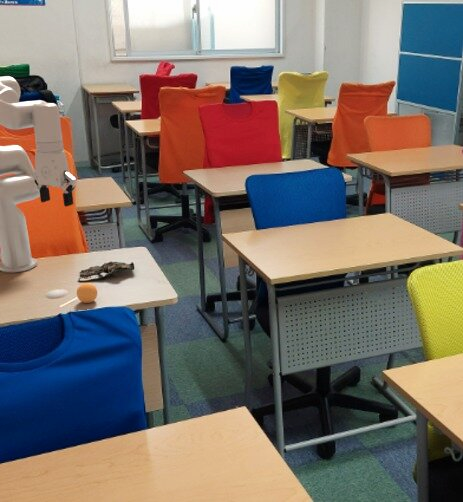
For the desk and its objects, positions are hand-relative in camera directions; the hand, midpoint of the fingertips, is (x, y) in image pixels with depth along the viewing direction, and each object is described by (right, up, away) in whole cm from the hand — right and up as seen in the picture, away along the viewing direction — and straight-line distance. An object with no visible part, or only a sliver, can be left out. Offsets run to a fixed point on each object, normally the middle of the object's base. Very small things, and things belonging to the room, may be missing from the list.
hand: (57, 203), depth 186 cm
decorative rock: (+11, -23, +20) cm, 32 cm away
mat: (+4, -29, +2) cm, 29 cm away
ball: (+10, -30, -2) cm, 31 cm away
